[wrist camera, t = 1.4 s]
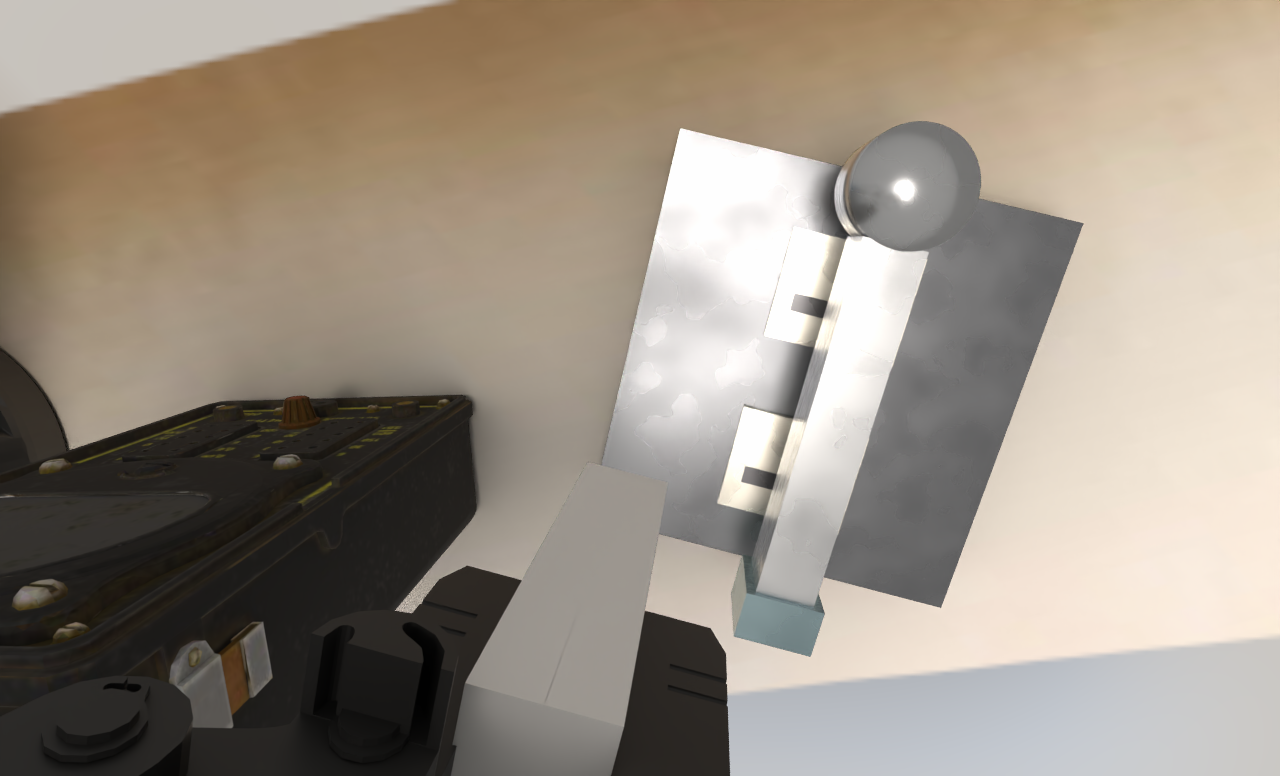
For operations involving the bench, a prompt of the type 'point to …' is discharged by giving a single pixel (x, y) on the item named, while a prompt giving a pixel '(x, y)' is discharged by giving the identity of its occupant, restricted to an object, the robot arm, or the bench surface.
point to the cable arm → (851, 367)
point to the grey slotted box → (782, 350)
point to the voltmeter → (224, 545)
